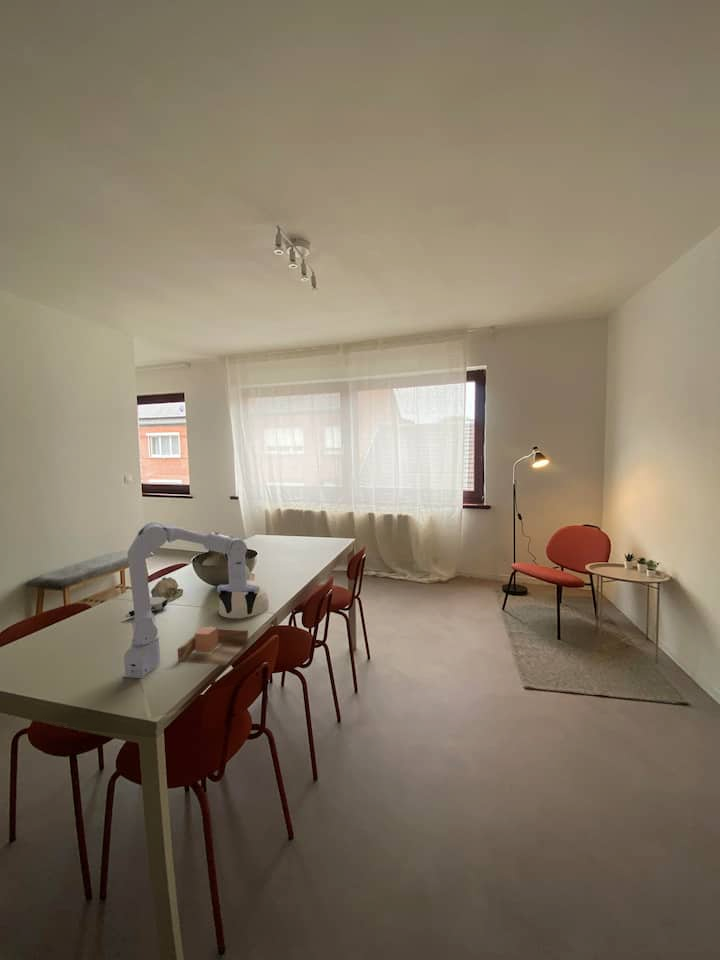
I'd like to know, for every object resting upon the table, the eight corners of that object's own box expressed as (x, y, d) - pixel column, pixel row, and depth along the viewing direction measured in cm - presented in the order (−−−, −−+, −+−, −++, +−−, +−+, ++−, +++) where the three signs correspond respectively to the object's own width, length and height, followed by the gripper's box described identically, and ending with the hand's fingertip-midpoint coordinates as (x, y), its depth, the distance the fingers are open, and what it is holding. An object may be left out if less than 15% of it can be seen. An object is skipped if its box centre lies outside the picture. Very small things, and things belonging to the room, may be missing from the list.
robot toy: (154, 622, 156) (173, 605, 170) (152, 612, 155) (171, 595, 170) (123, 623, 156) (145, 605, 171) (122, 612, 155) (144, 595, 170)
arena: (225, 667, 119) (224, 652, 119) (178, 663, 122) (177, 648, 122) (248, 643, 134) (247, 629, 134) (205, 640, 137) (205, 627, 137)
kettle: (275, 599, 174) (273, 559, 173) (259, 619, 154) (256, 574, 152) (231, 599, 176) (229, 559, 175) (209, 618, 156) (206, 574, 154)
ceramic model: (160, 606, 170) (158, 583, 170) (143, 602, 175) (141, 580, 175) (187, 595, 183) (186, 574, 182) (170, 592, 188) (169, 571, 187)
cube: (209, 652, 127) (208, 634, 126) (195, 651, 128) (194, 633, 127) (218, 644, 132) (217, 627, 131) (204, 643, 132) (203, 626, 132)
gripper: (262, 570, 136) (264, 608, 137) (223, 569, 138) (226, 607, 139) (253, 577, 129) (255, 617, 130) (212, 575, 132) (215, 615, 133)
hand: (239, 612), depth 134 cm, fingers open, 7 cm apart
